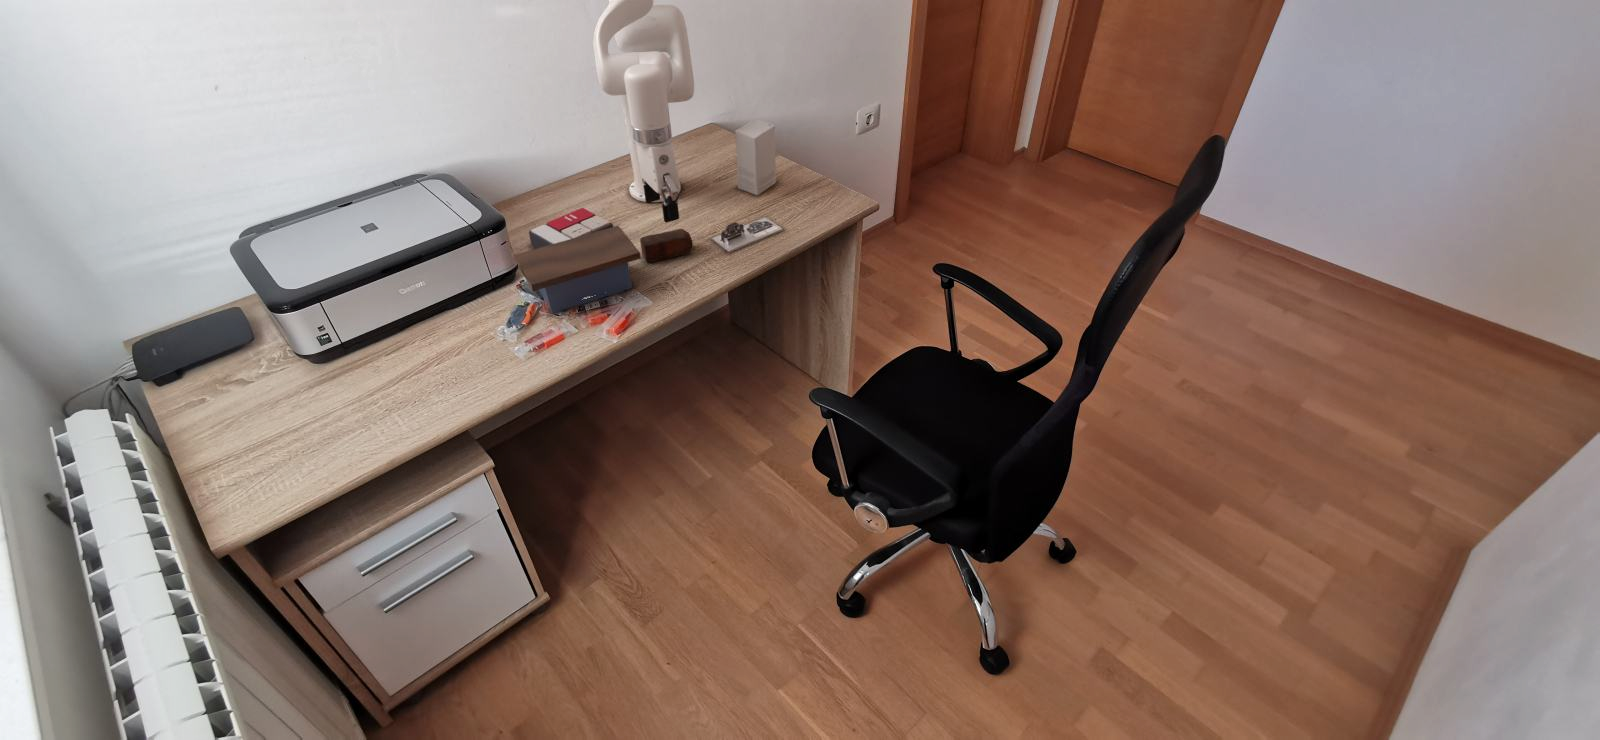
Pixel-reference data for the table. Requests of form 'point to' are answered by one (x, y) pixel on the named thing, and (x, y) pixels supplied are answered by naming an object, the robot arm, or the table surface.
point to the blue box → (587, 288)
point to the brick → (666, 245)
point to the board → (576, 257)
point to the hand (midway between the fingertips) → (662, 210)
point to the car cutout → (745, 233)
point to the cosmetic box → (756, 156)
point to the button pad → (568, 228)
